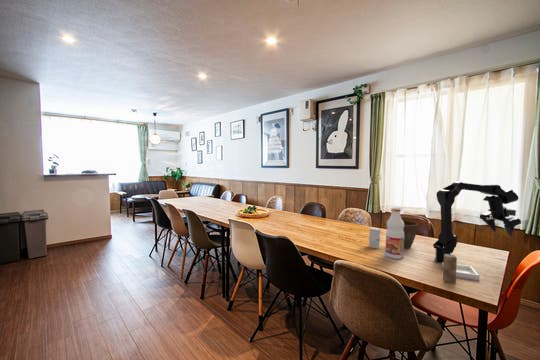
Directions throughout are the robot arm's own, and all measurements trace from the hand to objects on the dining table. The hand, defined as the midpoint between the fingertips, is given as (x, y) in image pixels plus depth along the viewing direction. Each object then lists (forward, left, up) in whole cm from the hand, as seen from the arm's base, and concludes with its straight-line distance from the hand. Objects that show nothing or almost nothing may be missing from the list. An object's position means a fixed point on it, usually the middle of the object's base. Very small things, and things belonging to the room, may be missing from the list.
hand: (502, 233), depth 138 cm
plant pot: (-47, +8, -16) cm, 50 cm away
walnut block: (-33, -41, -16) cm, 55 cm away
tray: (-26, -28, -16) cm, 42 cm away
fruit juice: (-54, -15, -16) cm, 58 cm away
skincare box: (-65, -1, -16) cm, 67 cm away
